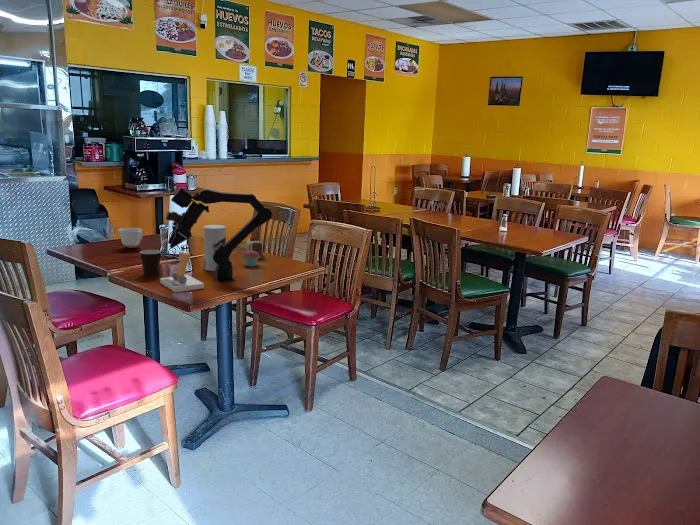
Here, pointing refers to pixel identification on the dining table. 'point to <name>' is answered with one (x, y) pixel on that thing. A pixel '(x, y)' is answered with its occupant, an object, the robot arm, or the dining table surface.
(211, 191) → the robot arm
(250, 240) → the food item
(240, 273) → the dining table surface
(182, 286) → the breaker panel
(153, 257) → the coffee mug
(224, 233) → the container
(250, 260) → the cupcake
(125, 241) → the teacup
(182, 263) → the lever
